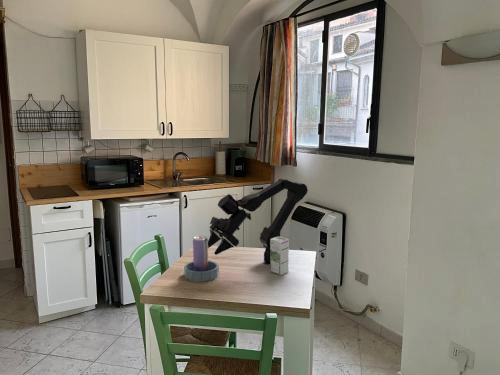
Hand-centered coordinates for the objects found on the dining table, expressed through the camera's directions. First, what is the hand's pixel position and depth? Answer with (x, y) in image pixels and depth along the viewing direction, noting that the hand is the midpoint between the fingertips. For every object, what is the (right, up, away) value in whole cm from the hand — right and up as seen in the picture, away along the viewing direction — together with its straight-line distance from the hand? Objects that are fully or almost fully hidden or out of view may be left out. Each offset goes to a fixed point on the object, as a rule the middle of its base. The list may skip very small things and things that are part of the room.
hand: (210, 250), depth 166 cm
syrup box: (+28, -10, +4) cm, 30 cm away
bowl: (-4, -10, 0) cm, 11 cm away
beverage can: (-4, -9, 0) cm, 10 cm away
